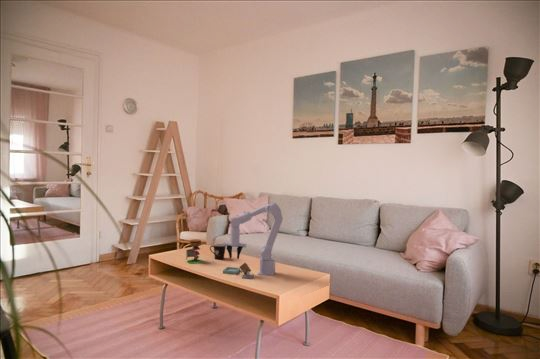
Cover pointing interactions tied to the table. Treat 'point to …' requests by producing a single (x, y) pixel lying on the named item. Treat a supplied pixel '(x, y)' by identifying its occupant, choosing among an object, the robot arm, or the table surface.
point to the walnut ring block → (245, 268)
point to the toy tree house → (194, 252)
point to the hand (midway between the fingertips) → (234, 258)
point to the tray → (231, 270)
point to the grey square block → (247, 276)
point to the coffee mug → (218, 251)
